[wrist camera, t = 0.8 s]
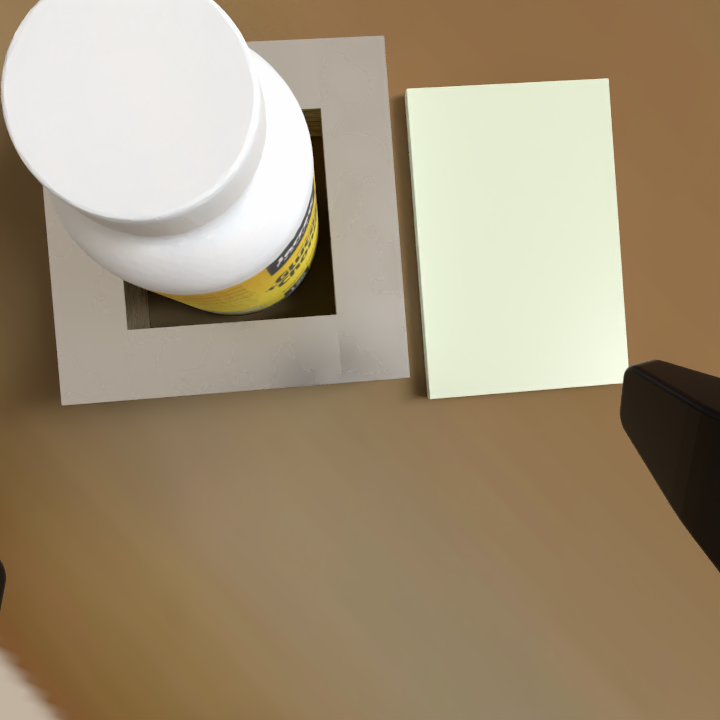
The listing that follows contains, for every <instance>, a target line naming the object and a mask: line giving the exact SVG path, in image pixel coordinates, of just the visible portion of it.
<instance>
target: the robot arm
mask: <svg viewBox="0 0 720 720" xmlns="http://www.w3.org/2000/svg"><path fill="white" fill-rule="evenodd" d="M620 418H621V422H622V425H623V428H624V430H625V432H626V433H627V435H628V437H629V438H630V440H631V442H632V443H633V445H634V446H635V448H636V450H637V451H638V453H639V455H640V456H641V458H642V460H643V461H644V463H645V464H646V466H647V468H648V469H649V471H650V473H651V474H652V476H653V478H654V479H655V481H656V482H657V484H658V486H659V487H660V489H661V491H662V492H663V494H664V496H665V497H666V499H667V500H668V502H669V504H670V505H671V507H672V508H673V510H674V511H675V513H676V514H677V516H678V518H679V519H680V520H681V522H682V523H683V525H684V526H685V527H686V529H687V530H688V531H689V533H690V534H691V536H692V537H693V538H694V539H695V541H696V542H697V543H698V545H699V546H700V547H701V549H702V550H703V551H704V553H705V554H706V555H707V556H708V558H709V559H710V560H711V562H712V563H713V564H714V566H715V567H716V568H717V569H718V571H719V572H720V378H718V377H715V376H712V375H708V374H705V373H701V372H698V371H695V370H691V369H688V368H685V367H681V366H678V365H674V364H671V363H668V362H664V361H661V360H651V361H646V362H642V363H638V364H634V365H631V366H629V367H628V368H627V369H626V370H625V372H624V376H623V386H622V396H621V406H620ZM5 582H6V573H5V569H4V566H3V564H2V562H1V561H0V609H1V604H2V599H3V594H4V588H5Z"/></svg>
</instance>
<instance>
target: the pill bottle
mask: <svg viewBox="0 0 720 720" xmlns="http://www.w3.org/2000/svg"><path fill="white" fill-rule="evenodd" d="M1 102H2V109H3V116H4V120H5V123H6V127H7V130H8V133H9V136H10V138H11V140H12V143H13V145H14V147H15V149H16V151H17V152H18V154H19V156H20V158H21V159H22V161H23V162H24V164H25V165H26V167H27V168H28V170H29V171H30V172H31V173H32V174H33V175H34V176H35V177H36V179H37V180H38V181H39V182H40V183H41V184H42V185H43V186H44V187H45V188H46V189H48V192H49V195H50V198H51V201H52V204H53V206H54V209H55V211H56V213H57V215H58V217H59V219H60V220H61V222H62V224H63V226H64V227H65V229H66V230H67V232H68V233H69V234H70V236H71V237H72V239H73V240H74V241H75V242H76V243H77V245H78V246H79V247H80V248H81V249H82V250H83V251H84V252H85V253H86V254H87V255H88V256H89V257H90V258H91V259H93V260H94V261H95V262H96V263H97V264H99V265H100V266H101V267H103V268H104V269H106V270H107V271H109V272H110V273H112V274H113V275H115V276H117V277H119V278H121V279H123V280H125V281H127V282H129V283H131V284H134V285H136V286H138V287H141V288H144V289H147V290H149V291H152V292H155V293H158V294H160V295H163V296H166V297H168V298H171V299H174V300H176V301H179V302H182V303H184V304H187V305H190V306H193V307H195V308H198V309H201V310H204V311H207V312H211V313H215V314H220V315H229V316H239V315H248V314H253V313H257V312H260V311H263V310H266V309H268V308H271V307H272V306H274V305H276V304H278V303H280V302H281V301H282V300H284V299H285V298H286V297H288V296H289V295H290V294H291V293H292V292H293V291H294V290H295V289H296V288H297V287H298V286H299V285H300V284H301V282H302V281H303V280H304V278H305V276H306V275H307V273H308V272H309V270H310V268H311V265H312V263H313V260H314V258H315V254H316V250H317V245H318V235H319V225H318V213H317V200H316V186H315V176H314V161H313V152H312V144H311V139H310V134H309V130H308V126H307V123H306V121H305V118H304V115H303V113H302V110H301V108H300V106H299V104H298V101H297V100H296V98H295V96H294V95H293V93H292V91H291V90H290V88H289V87H288V85H287V84H286V83H285V81H284V80H283V79H282V77H281V76H280V75H279V74H278V73H277V72H276V71H275V70H274V68H273V67H272V66H271V65H270V64H269V63H267V62H266V61H265V60H264V59H263V58H262V57H261V56H260V55H258V54H257V53H256V52H254V51H253V50H251V49H250V48H248V46H247V44H246V42H245V40H244V38H243V36H242V34H241V33H240V31H239V30H238V28H237V27H236V25H235V24H234V22H233V21H232V20H231V19H230V18H229V16H228V15H227V14H226V13H225V12H224V11H223V10H222V9H221V8H220V7H219V6H218V5H217V4H216V3H215V2H214V1H213V0H40V1H39V2H38V3H37V4H36V5H35V6H34V7H33V8H32V9H31V10H30V11H29V13H28V14H27V15H26V17H25V18H24V19H23V20H22V22H21V24H20V25H19V27H18V29H17V31H16V33H15V34H14V37H13V39H12V41H11V43H10V46H9V48H8V50H7V53H6V57H5V62H4V66H3V72H2V78H1Z"/></svg>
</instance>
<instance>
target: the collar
mask: <svg viewBox="0 0 720 720" xmlns="http://www.w3.org/2000/svg"><path fill="white" fill-rule="evenodd" d="M246 44H247V46H248V48H250V49H251V50H253V51H254V52H256V53H257V54H258V55H260V56H261V57H262V58H263V59H264V60H265V61H266V62H267V63H269V64H270V65H271V66H272V67H273V68H274V70H275V71H276V72H277V73H278V74H279V75H280V76H281V77H282V79H283V80H284V81H285V83H286V84H287V85H288V87H289V88H290V90H291V91H292V93H293V95H294V96H295V98H296V100H297V101H298V104H299V106H300V108H301V110H302V113H303V115H304V118H305V121H306V123H307V126H308V130H309V134H310V137H319V136H322V147H323V160H324V172H325V185H326V198H327V211H328V224H329V237H330V249H331V262H332V275H333V288H334V301H335V314H336V315H325V316H312V317H298V318H284V319H271V320H257V321H244V322H230V323H216V324H203V325H189V326H176V327H162V328H150V316H149V304H148V292H147V289H144V288H141V287H138V286H136V285H134V284H131V283H129V282H127V281H125V280H123V279H121V278H119V277H117V276H115V275H113V274H112V273H110V272H109V271H107V270H106V269H104V268H103V267H101V266H100V265H99V264H97V263H96V262H95V261H94V260H93V259H91V258H90V257H89V256H88V255H87V254H86V253H85V252H84V251H83V250H82V249H81V248H80V247H79V246H78V245H77V243H76V242H75V241H74V240H73V239H72V237H71V236H70V234H69V233H68V232H67V230H66V229H65V227H64V226H63V224H62V222H61V220H60V219H59V217H58V215H57V213H56V211H55V209H54V206H53V204H52V201H51V198H50V195H49V192H48V189H46V188H45V187H44V186H43V194H44V206H45V217H46V229H47V241H48V252H49V264H50V275H51V287H52V299H53V310H54V322H55V334H56V345H57V357H58V368H59V380H60V392H61V403H62V405H74V404H86V403H99V402H111V401H123V400H136V399H148V398H161V397H173V396H186V395H198V394H211V393H223V392H235V391H248V390H260V389H273V388H285V387H298V386H310V385H323V384H335V383H347V382H360V381H372V380H385V379H397V378H410V372H409V359H408V346H407V333H406V320H405V307H404V293H403V280H402V267H401V254H400V241H399V228H398V214H397V201H396V188H395V175H394V162H393V149H392V135H391V122H390V109H389V96H388V83H387V70H386V56H385V43H384V36H366V37H344V38H322V39H301V40H279V41H257V42H246Z"/></svg>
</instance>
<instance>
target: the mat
mask: <svg viewBox="0 0 720 720" xmlns="http://www.w3.org/2000/svg"><path fill="white" fill-rule="evenodd" d="M405 107H406V120H407V134H408V147H409V160H410V173H411V187H412V200H413V213H414V226H415V240H416V253H417V266H418V279H419V293H420V306H421V319H422V332H423V346H424V359H425V372H426V385H427V398H429V399H436V398H448V397H460V396H472V395H484V394H496V393H508V392H520V391H532V390H545V389H557V388H569V387H581V386H593V385H605V384H617V383H623V376H624V372H625V370H626V369H627V368H628V354H627V339H626V325H625V311H624V296H623V282H622V267H621V253H620V239H619V224H618V210H617V196H616V181H615V167H614V152H613V138H612V124H611V109H610V95H609V81H608V79H589V80H570V81H550V82H531V83H511V84H492V85H473V86H453V87H434V88H414V89H407V90H406V93H405Z"/></svg>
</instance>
